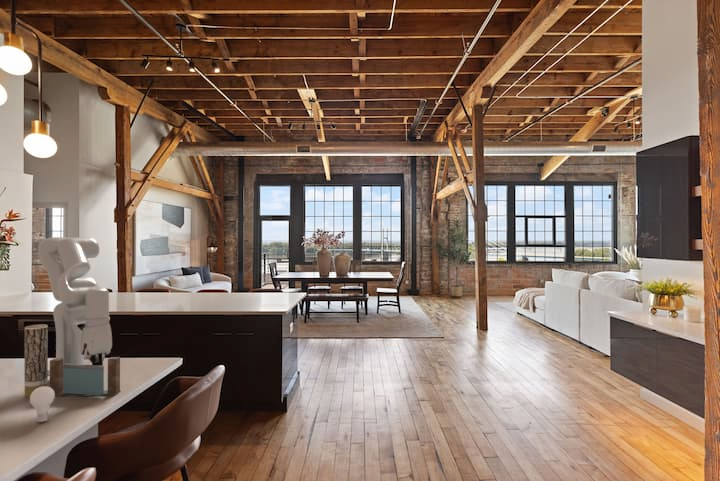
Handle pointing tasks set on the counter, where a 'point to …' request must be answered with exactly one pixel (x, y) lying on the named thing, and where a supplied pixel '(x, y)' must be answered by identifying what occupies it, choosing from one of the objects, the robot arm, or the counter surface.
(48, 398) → the lightbulb
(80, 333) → the robot arm
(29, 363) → the wooden log
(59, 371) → the gate frame
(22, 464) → the counter surface
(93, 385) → the gate
